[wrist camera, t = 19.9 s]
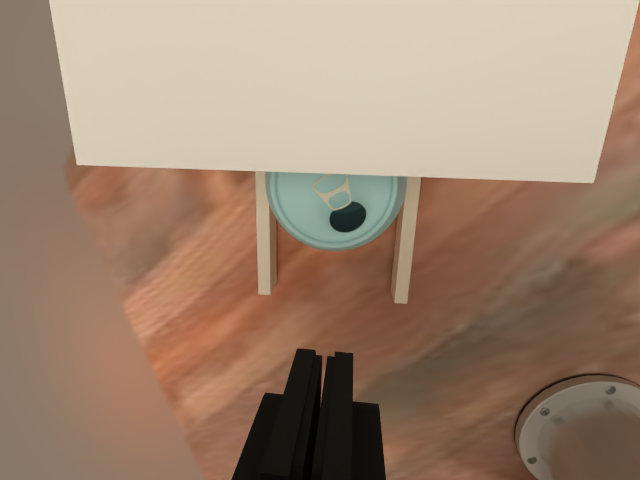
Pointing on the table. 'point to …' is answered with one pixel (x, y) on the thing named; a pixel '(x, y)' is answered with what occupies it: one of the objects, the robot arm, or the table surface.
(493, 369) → the table surface
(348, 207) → the can
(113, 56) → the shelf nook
